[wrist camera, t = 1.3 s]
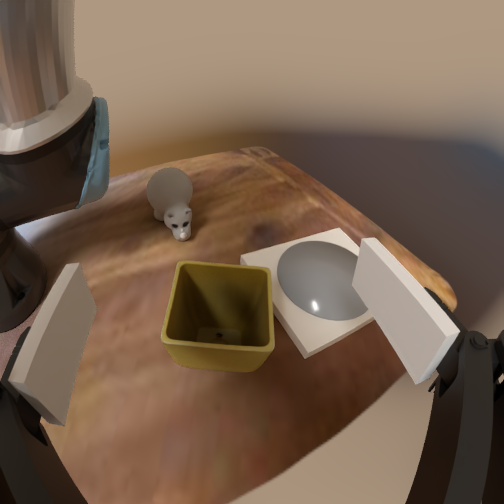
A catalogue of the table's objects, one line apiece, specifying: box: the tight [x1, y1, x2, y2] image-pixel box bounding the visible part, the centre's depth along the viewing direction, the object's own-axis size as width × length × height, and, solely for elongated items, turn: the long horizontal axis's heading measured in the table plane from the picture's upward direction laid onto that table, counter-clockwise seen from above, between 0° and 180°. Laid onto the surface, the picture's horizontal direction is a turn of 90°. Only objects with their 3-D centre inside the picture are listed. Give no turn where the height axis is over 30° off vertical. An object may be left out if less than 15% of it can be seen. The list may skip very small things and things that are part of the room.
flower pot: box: [161, 261, 275, 372], centre depth 26 cm, size 9×9×9 cm
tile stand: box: [240, 228, 375, 359], centre depth 37 cm, size 16×18×2 cm
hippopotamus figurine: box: [147, 168, 193, 241], centre depth 42 cm, size 7×12×8 cm, turn 25°
